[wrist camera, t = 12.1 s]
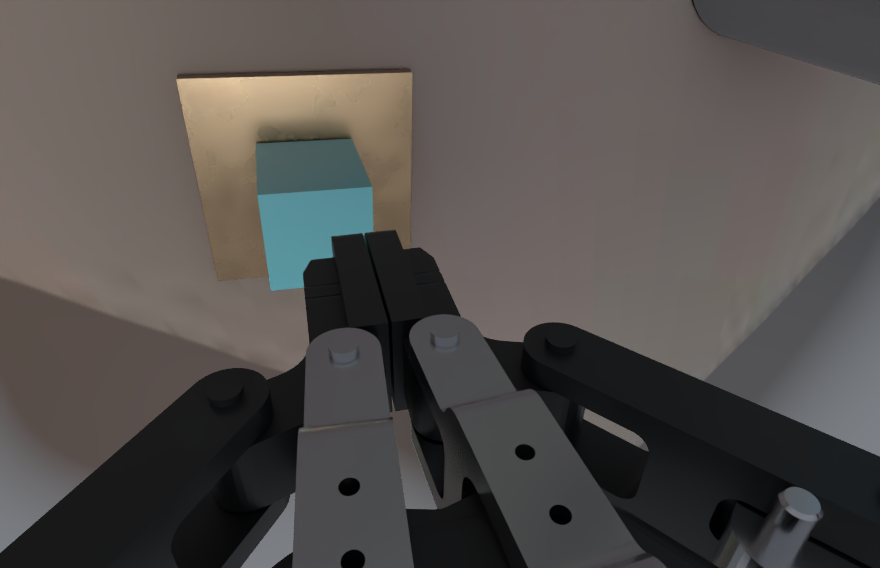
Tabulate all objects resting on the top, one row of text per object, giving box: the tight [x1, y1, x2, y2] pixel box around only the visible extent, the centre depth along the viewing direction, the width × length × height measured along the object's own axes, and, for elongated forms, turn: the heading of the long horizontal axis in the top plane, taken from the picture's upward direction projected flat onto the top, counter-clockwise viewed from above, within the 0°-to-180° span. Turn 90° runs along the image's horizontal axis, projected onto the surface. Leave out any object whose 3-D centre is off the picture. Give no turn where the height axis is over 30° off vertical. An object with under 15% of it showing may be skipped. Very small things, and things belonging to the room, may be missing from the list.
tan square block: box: [176, 69, 412, 281], centre depth 31 cm, size 12×12×7 cm
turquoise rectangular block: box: [256, 139, 373, 291], centre depth 31 cm, size 5×5×7 cm
